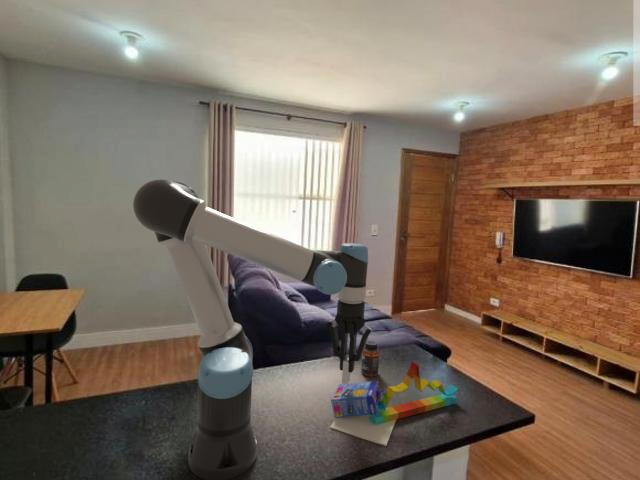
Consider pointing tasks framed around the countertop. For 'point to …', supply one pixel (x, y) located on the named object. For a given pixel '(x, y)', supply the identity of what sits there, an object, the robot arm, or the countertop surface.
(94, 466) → the countertop surface
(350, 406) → the ink cartridge box
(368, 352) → the supplement bottle
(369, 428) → the plain beige panel
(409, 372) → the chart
